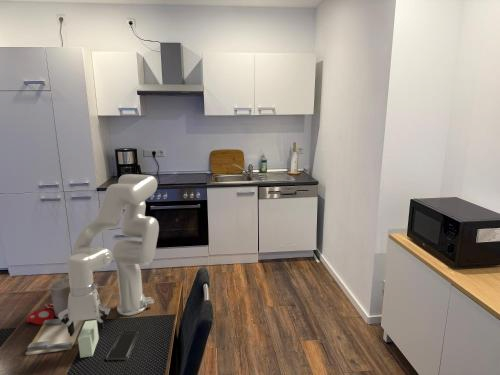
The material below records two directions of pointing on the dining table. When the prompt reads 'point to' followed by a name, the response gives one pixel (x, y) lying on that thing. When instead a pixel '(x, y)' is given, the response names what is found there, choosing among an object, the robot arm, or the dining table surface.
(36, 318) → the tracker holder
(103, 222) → the robot arm
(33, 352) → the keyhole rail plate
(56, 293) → the pillar candle
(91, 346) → the sage panel block
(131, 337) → the phone
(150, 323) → the dining table surface
